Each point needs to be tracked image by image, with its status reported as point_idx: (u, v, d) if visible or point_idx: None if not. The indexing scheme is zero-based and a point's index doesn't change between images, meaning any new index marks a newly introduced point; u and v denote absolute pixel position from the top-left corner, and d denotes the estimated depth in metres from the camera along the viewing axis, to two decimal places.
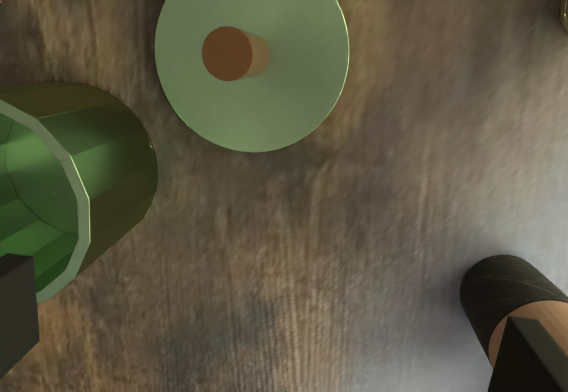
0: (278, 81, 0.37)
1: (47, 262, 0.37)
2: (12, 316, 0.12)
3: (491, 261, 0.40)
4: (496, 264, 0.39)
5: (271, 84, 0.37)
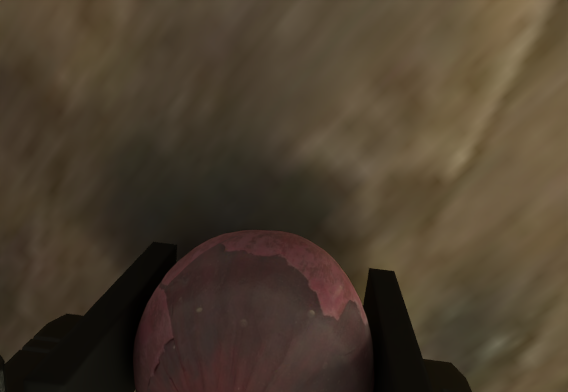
0: None
1: None
2: None
3: None
4: None
5: None
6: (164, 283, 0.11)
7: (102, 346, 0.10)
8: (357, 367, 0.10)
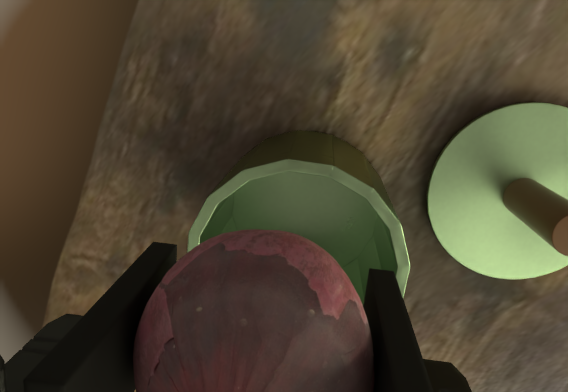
0: None
1: None
2: None
3: None
4: None
5: (525, 226, 0.40)
6: (164, 282, 0.11)
7: (102, 346, 0.10)
8: (357, 366, 0.10)
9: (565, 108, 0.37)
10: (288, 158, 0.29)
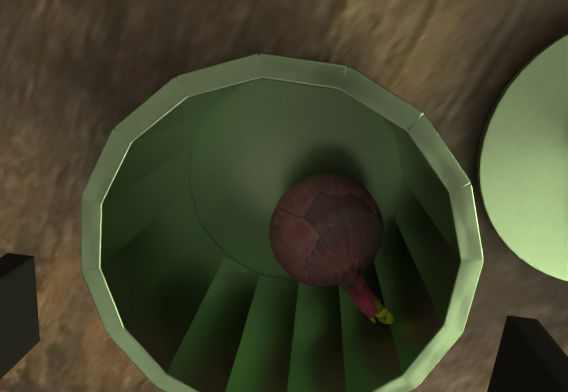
0: None
1: (234, 319, 0.24)
2: (12, 316, 0.12)
3: None
4: None
5: None
6: (299, 215, 0.22)
7: None
8: (383, 229, 0.24)
9: None
10: None
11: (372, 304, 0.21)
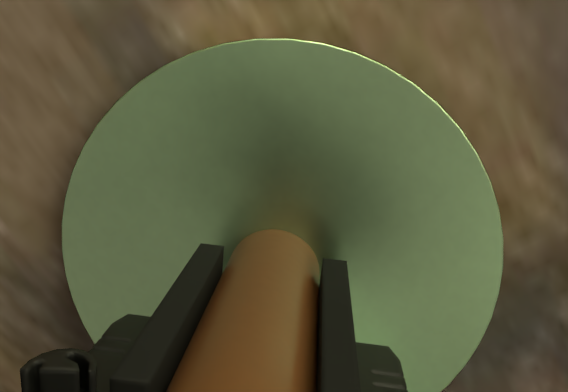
0: (358, 256, 0.16)
1: None
2: None
3: None
4: None
5: (353, 272, 0.16)
6: None
7: (173, 345, 0.10)
8: None
9: (77, 164, 0.16)
10: None
11: None
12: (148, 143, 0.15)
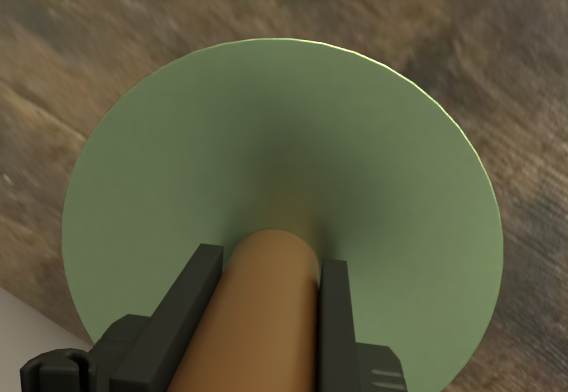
0: (358, 256, 0.16)
1: None
2: None
3: None
4: None
5: (353, 272, 0.16)
6: None
7: (174, 345, 0.10)
8: None
9: (77, 164, 0.16)
10: None
11: None
12: (148, 143, 0.15)
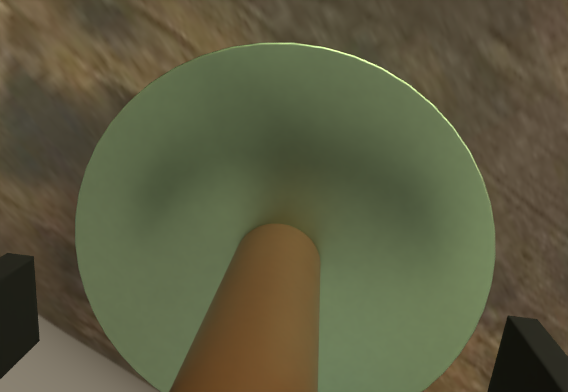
0: (357, 249, 0.17)
1: None
2: (12, 316, 0.12)
3: None
4: None
5: (352, 264, 0.17)
6: None
7: None
8: None
9: (91, 162, 0.17)
10: None
11: None
12: (158, 142, 0.16)
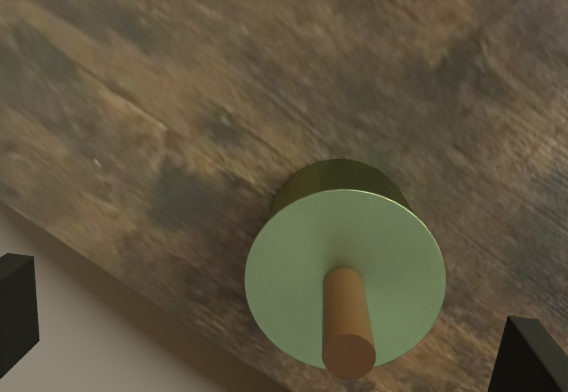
0: (381, 279, 0.35)
1: None
2: (12, 316, 0.12)
3: None
4: None
5: (379, 286, 0.36)
6: None
7: None
8: None
9: (256, 239, 0.35)
10: None
11: None
12: (289, 230, 0.35)
